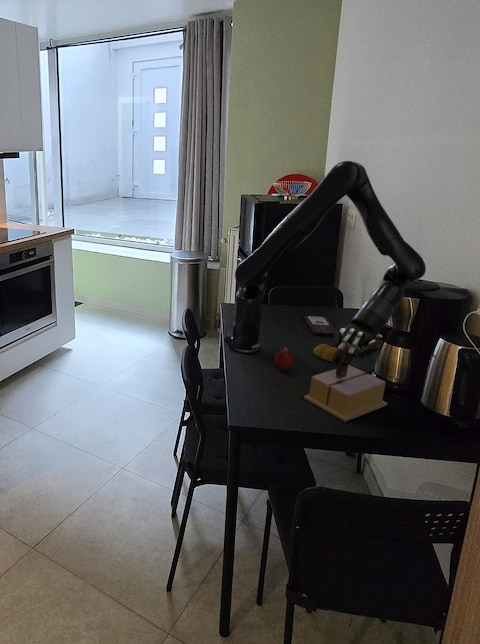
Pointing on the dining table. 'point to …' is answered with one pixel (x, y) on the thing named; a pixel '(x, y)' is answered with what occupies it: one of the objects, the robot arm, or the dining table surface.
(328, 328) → the chocolate bar
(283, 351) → the onion
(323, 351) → the bread roll
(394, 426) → the dining table surface
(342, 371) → the cake knife
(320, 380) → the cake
